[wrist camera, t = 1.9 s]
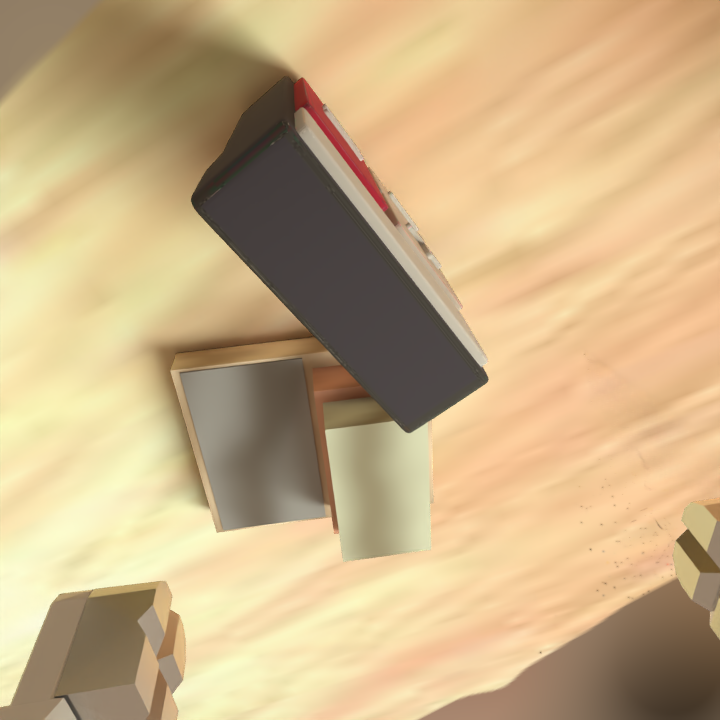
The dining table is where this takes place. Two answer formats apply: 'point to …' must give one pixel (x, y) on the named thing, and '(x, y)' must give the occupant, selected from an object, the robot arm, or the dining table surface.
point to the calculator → (341, 254)
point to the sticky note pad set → (304, 447)
